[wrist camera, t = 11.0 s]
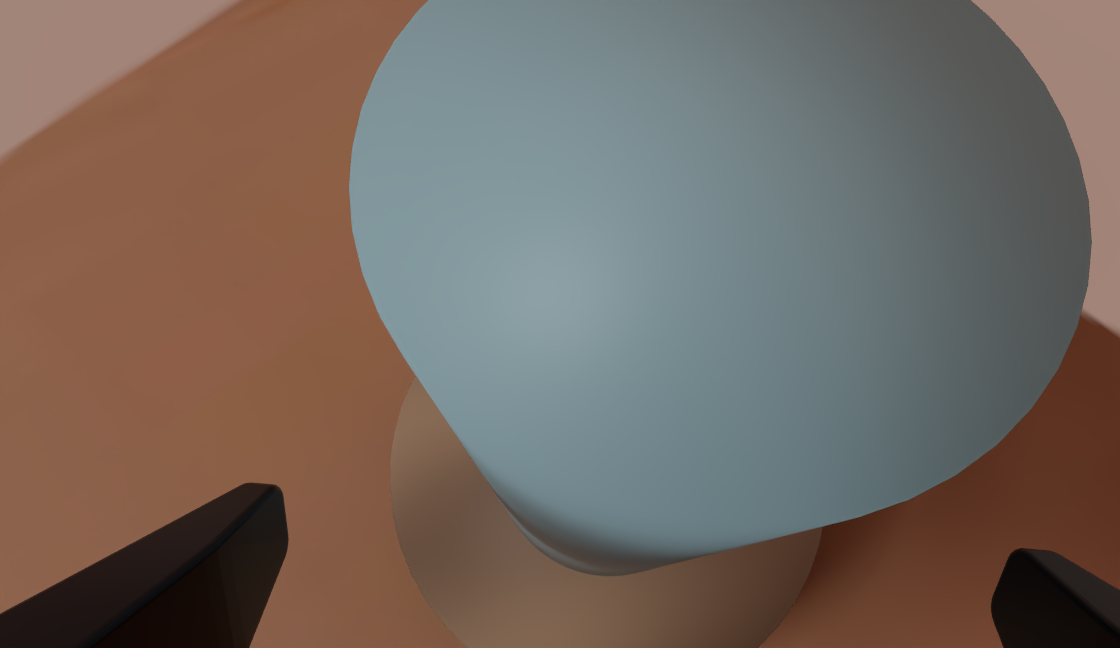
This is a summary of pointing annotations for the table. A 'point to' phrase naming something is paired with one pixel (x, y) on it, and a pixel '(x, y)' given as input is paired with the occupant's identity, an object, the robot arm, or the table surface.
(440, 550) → the walnut base
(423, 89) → the blue-grey cylinder
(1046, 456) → the table surface
